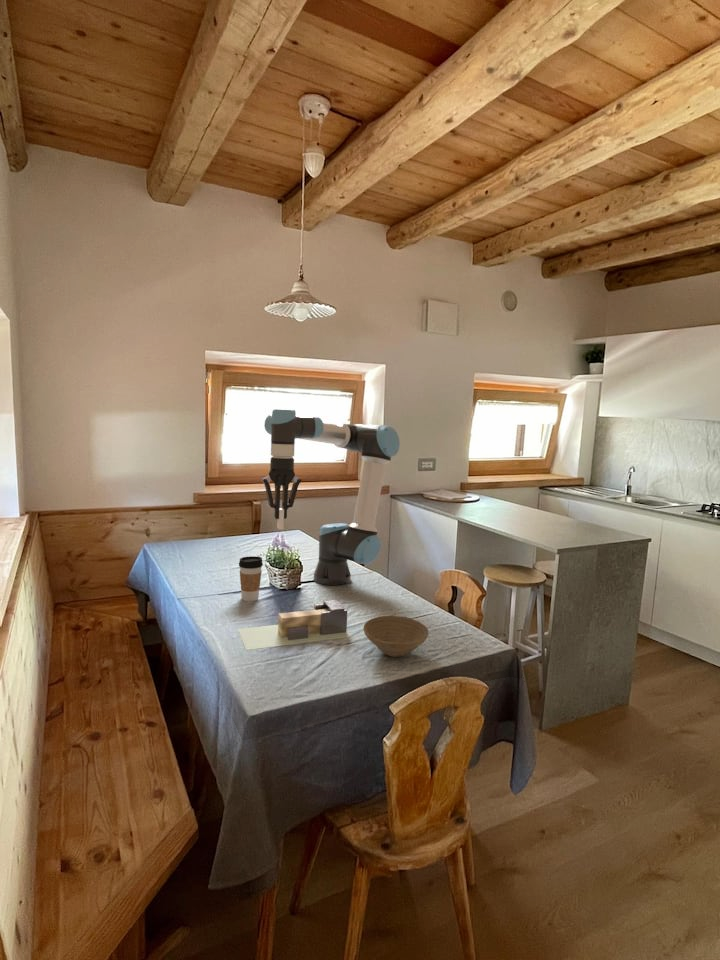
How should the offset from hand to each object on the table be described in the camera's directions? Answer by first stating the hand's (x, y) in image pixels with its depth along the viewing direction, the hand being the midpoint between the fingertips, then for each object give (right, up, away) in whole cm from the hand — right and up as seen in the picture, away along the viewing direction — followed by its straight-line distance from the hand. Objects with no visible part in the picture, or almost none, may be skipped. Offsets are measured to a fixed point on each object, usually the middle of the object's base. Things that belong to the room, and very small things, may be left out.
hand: (280, 528), depth 174 cm
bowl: (+36, -34, -21) cm, 54 cm away
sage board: (+6, -31, -11) cm, 34 cm away
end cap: (+16, -31, -7) cm, 36 cm away
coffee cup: (-14, -27, +17) cm, 35 cm away
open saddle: (+6, -31, -11) cm, 34 cm away
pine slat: (+10, -31, -10) cm, 34 cm away
